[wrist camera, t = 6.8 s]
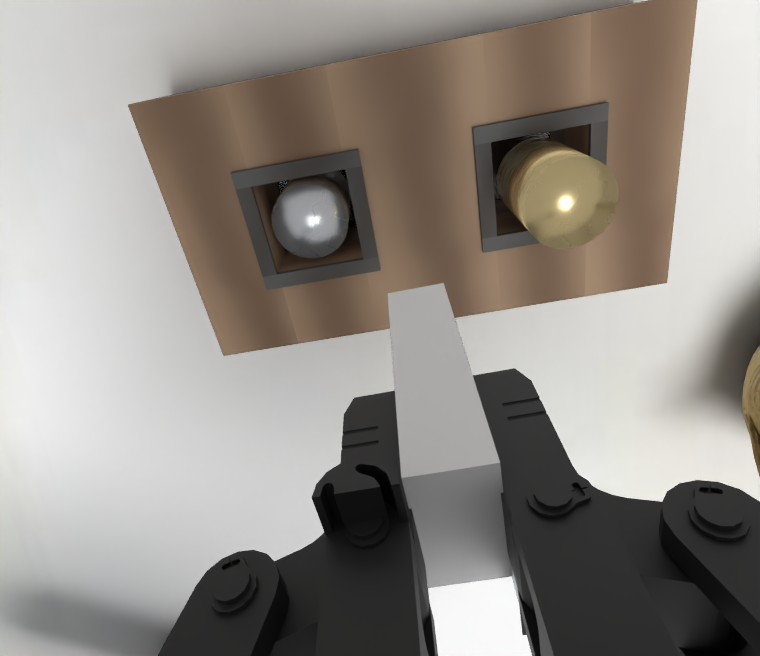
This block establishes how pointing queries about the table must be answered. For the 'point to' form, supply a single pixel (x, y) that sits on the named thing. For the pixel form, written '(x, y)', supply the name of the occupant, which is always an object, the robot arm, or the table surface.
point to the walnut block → (425, 172)
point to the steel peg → (313, 214)
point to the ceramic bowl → (753, 404)
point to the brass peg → (557, 192)
